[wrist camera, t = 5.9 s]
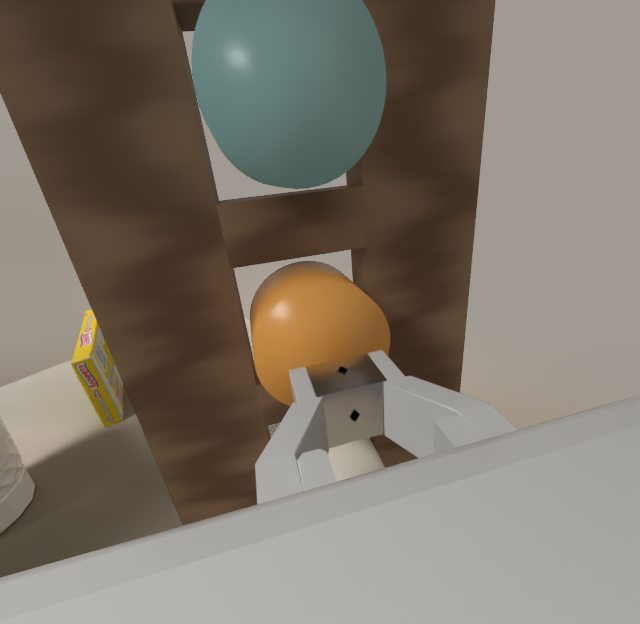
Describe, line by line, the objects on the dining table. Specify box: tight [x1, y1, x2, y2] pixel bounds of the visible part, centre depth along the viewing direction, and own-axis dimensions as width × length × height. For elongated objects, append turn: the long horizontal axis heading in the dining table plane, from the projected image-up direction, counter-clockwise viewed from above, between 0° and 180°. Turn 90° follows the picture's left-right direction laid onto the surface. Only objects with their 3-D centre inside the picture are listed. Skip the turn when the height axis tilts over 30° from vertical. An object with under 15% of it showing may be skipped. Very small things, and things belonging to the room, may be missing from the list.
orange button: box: [250, 261, 390, 406], centre depth 13 cm, size 5×4×5 cm
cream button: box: [328, 437, 385, 482], centre depth 16 cm, size 5×4×5 cm
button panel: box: [0, 0, 495, 525], centre depth 18 cm, size 16×8×30 cm, turn 104°
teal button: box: [192, 0, 386, 189], centre depth 10 cm, size 5×4×5 cm
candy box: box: [71, 309, 123, 427], centre depth 38 cm, size 16×2×8 cm, turn 30°
